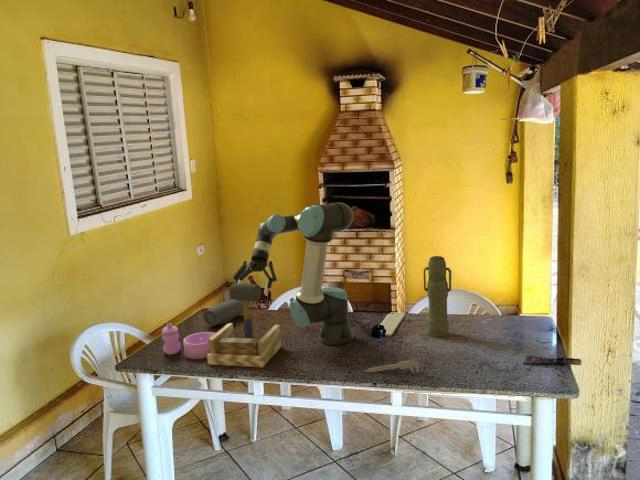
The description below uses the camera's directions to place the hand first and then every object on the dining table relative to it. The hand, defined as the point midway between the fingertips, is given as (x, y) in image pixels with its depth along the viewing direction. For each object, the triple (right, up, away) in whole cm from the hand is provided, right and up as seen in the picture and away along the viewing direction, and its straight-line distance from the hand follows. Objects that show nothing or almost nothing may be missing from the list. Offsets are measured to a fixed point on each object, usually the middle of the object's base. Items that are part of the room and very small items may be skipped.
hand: (251, 294), depth 243 cm
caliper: (+57, -27, -33) cm, 71 cm away
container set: (-26, -25, -1) cm, 36 cm away
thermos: (+83, -18, +3) cm, 85 cm away
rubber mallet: (0, -24, -4) cm, 25 cm away
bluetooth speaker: (-17, -18, +38) cm, 45 cm away
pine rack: (-1, -25, -7) cm, 26 cm away
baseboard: (+63, -17, +19) cm, 68 cm away
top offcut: (-3, -21, -14) cm, 25 cm away
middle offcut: (-3, -24, -14) cm, 27 cm away
